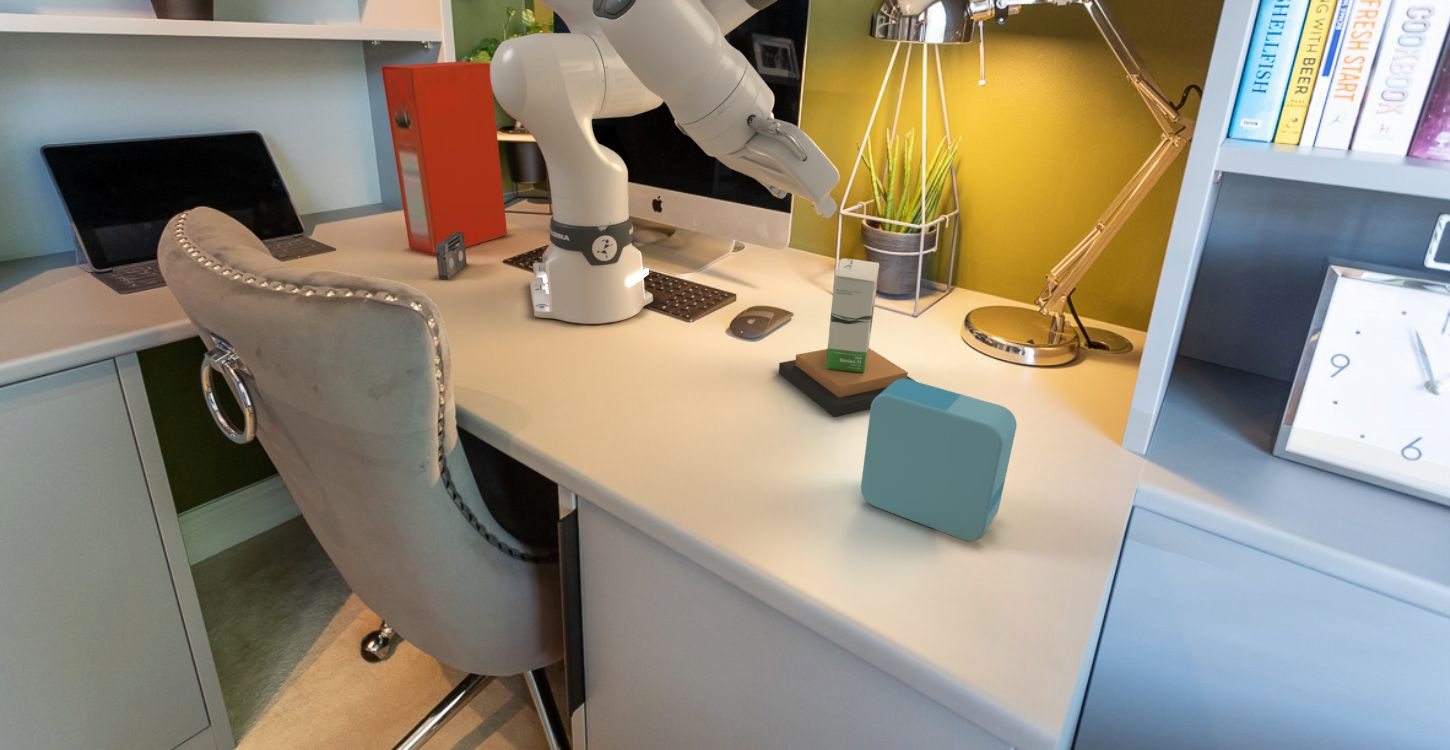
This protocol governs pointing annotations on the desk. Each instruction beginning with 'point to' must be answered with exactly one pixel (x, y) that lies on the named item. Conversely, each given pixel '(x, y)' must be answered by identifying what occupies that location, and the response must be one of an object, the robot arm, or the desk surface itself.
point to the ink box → (852, 315)
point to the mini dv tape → (451, 255)
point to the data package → (937, 457)
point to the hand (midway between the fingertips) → (805, 202)
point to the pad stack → (841, 381)
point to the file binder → (446, 152)
